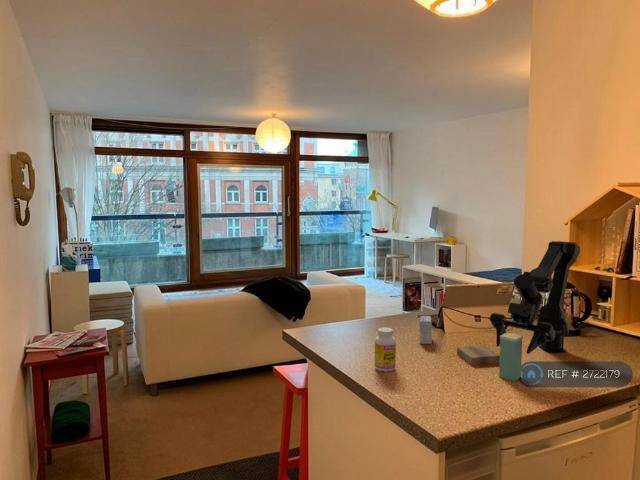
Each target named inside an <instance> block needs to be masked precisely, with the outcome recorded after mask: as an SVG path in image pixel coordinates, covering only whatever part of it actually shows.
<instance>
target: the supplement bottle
mask: <svg viewBox="0 0 640 480" xmlns="http://www.w3.org/2000/svg"><path fill="white" fill-rule="evenodd" d="M393 333H394V330H393V328H391V327H384V326H383V327H379V328H378V329H377V336H375V338H374V368H375V369H376V370H377V371H378V372H382V371H384V373H385V372H387V373H388V371H389V372H392V371H394V370H395V369H396V358H397V357H396V356H397V355H396V354H397V353H396V350H397V348H396V347H397V346H396V344H397V340H396V338H395V337H394V336H393Z"/></svg>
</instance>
